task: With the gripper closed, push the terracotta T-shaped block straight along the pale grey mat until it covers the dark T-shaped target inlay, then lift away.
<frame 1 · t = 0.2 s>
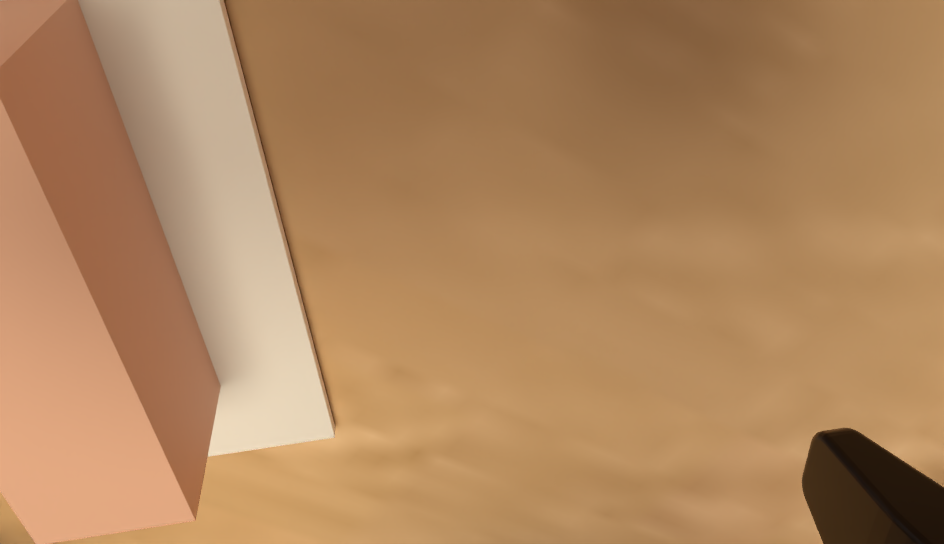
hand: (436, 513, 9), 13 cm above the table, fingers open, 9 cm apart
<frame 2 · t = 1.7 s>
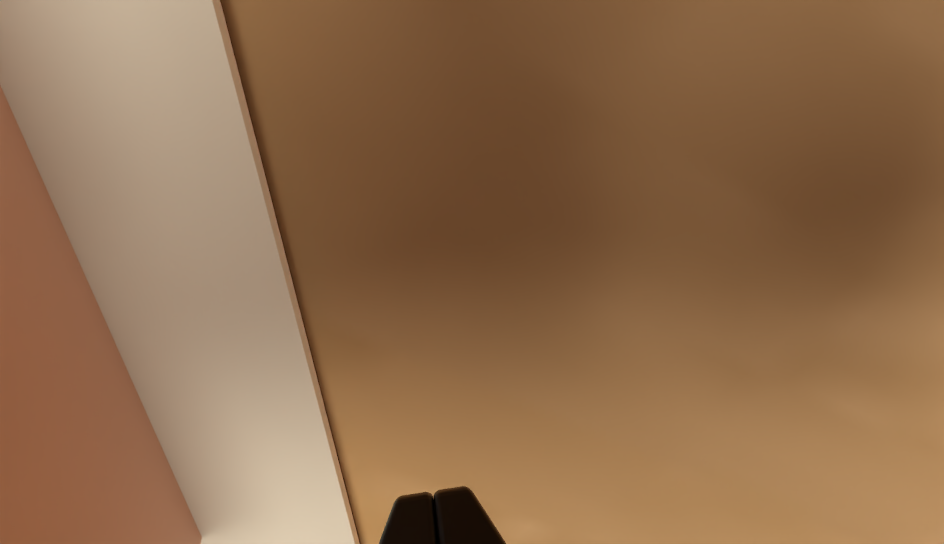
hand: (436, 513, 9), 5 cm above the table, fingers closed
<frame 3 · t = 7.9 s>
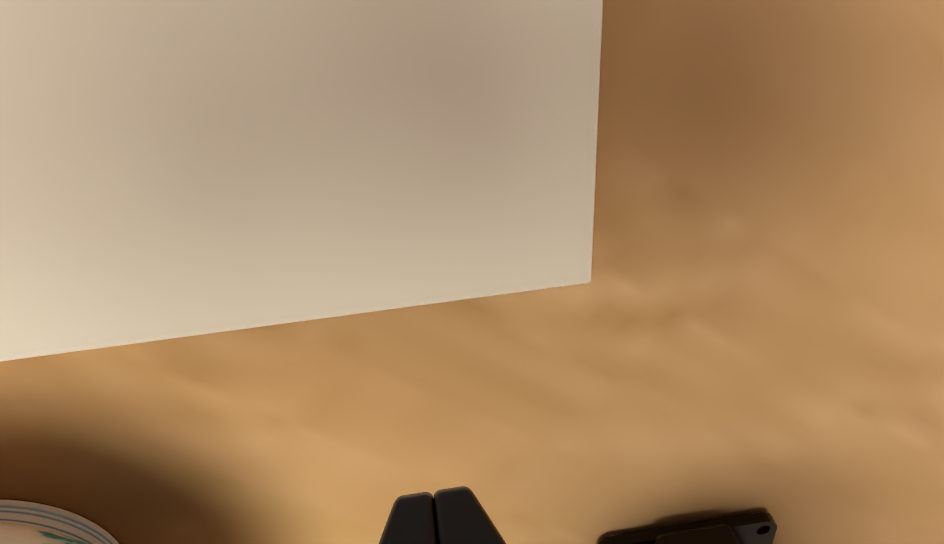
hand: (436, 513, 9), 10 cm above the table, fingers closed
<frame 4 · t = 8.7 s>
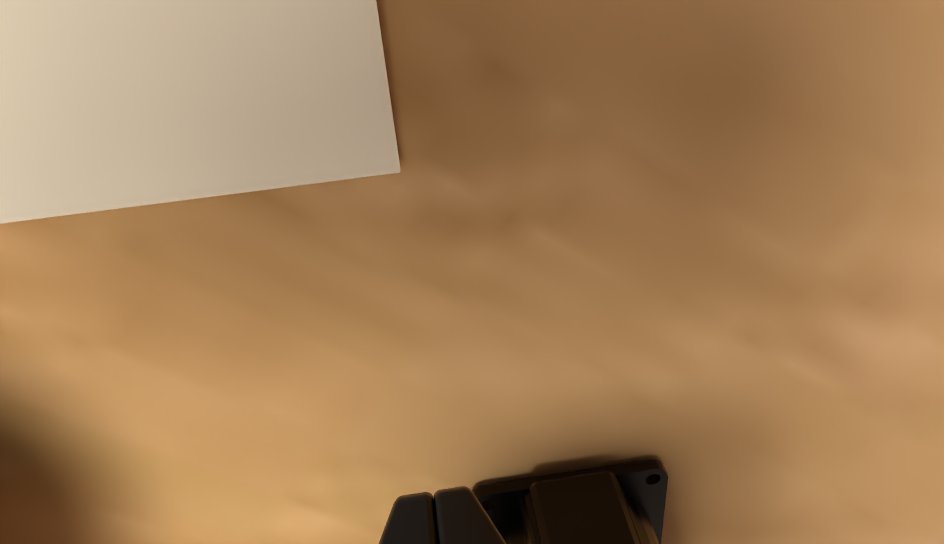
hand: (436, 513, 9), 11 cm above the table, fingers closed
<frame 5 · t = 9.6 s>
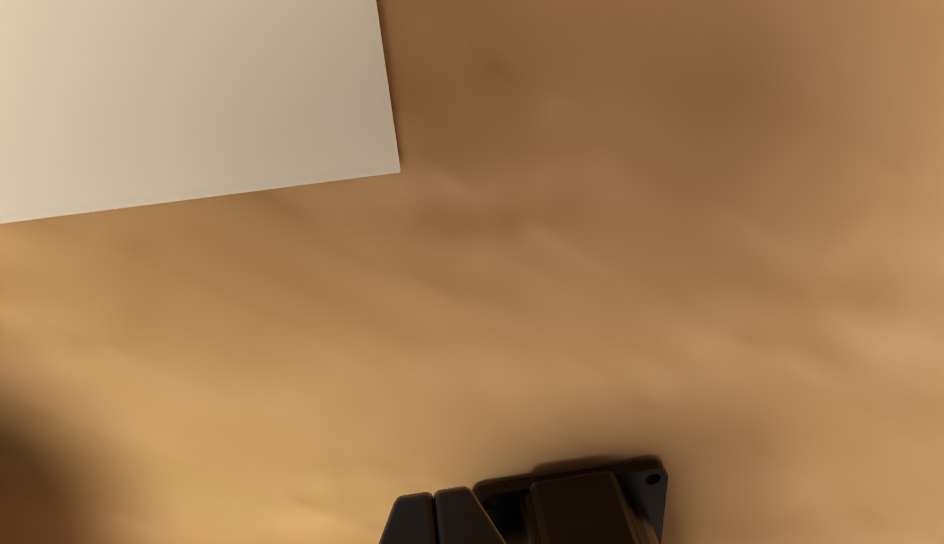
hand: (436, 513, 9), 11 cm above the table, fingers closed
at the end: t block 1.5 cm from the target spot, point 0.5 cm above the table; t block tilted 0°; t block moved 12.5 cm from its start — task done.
